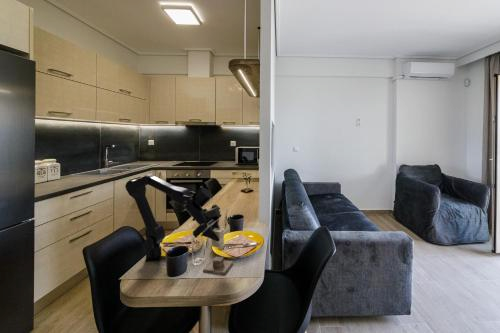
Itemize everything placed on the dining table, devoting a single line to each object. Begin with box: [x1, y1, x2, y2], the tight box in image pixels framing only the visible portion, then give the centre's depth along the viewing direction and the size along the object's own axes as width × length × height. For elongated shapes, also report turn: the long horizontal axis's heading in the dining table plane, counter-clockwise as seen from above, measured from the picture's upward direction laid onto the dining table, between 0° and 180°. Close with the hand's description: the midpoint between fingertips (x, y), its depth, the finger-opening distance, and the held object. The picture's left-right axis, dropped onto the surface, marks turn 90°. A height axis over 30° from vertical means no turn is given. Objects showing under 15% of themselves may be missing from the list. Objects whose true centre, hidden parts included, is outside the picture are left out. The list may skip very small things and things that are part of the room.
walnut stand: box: [202, 256, 233, 276], centre depth 120 cm, size 10×10×4 cm
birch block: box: [211, 228, 225, 248], centre depth 118 cm, size 4×4×7 cm
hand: (220, 238), depth 118 cm, fingers closed on birch block, 4 cm apart
